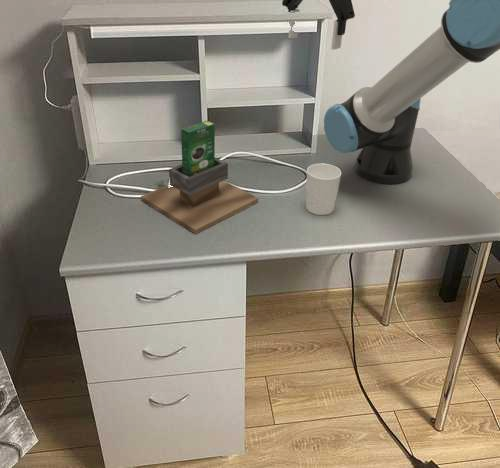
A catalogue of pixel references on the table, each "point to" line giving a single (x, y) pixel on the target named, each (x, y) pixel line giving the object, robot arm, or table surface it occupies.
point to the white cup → (322, 188)
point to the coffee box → (198, 148)
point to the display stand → (199, 198)
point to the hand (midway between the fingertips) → (313, 42)
